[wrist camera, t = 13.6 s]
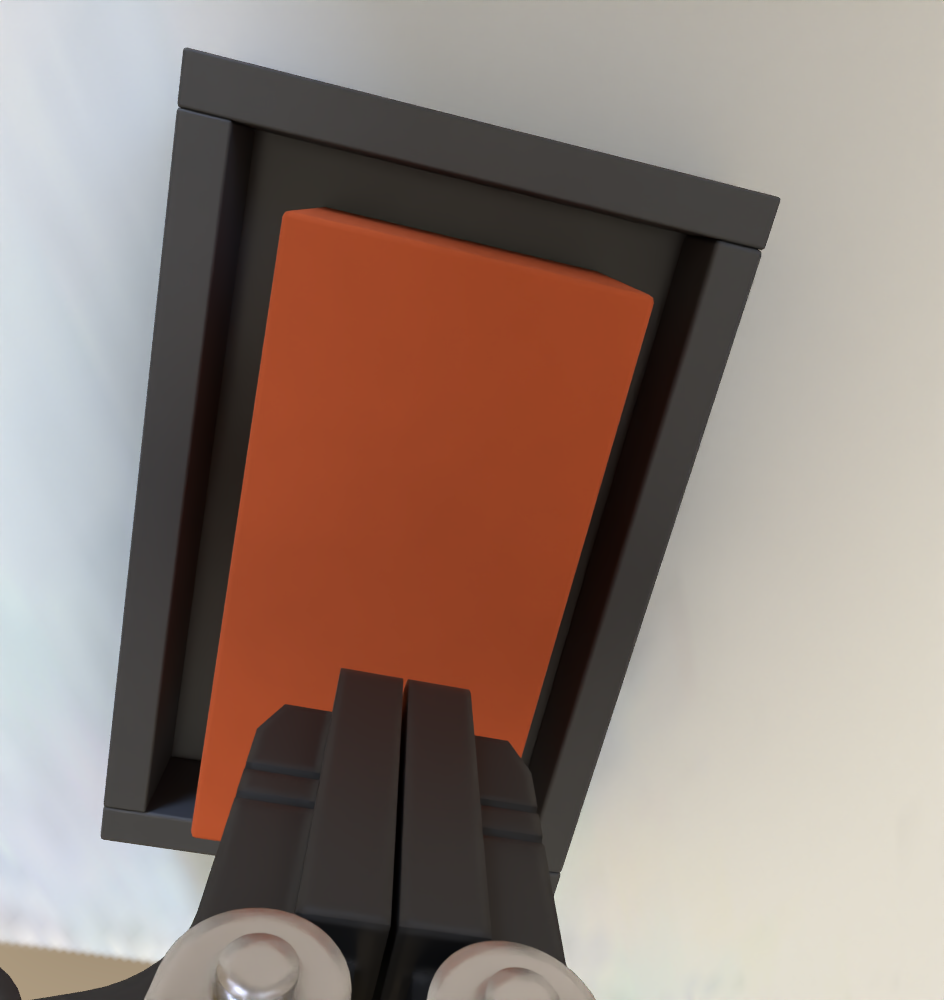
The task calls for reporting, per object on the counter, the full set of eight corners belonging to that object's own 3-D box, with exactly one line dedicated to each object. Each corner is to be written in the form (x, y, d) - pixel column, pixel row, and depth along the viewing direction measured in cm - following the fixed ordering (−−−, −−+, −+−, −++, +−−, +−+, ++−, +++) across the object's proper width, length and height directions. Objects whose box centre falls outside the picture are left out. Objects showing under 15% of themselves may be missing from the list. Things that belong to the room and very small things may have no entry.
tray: (221, 70, 14) (182, 46, 12) (731, 197, 15) (782, 197, 13) (138, 763, 19) (99, 840, 17) (537, 824, 20) (552, 905, 18)
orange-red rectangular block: (320, 205, 15) (281, 208, 11) (601, 272, 15) (658, 297, 11) (239, 703, 18) (189, 839, 14) (474, 741, 18) (486, 883, 15)
